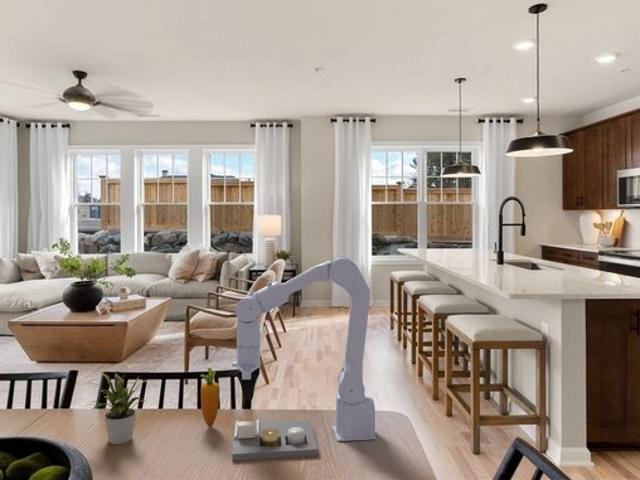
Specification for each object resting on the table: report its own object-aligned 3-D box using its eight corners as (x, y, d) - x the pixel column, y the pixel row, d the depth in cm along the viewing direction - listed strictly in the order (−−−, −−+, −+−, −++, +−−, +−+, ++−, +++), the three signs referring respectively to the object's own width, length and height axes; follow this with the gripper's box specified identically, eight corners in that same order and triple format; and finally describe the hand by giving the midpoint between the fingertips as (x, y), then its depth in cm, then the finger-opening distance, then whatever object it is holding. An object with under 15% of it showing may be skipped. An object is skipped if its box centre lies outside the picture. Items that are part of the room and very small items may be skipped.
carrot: (215, 432, 117) (215, 372, 116) (196, 430, 118) (196, 371, 117) (223, 424, 121) (223, 367, 121) (205, 422, 122) (205, 365, 122)
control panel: (309, 425, 121) (309, 416, 121) (318, 455, 105) (318, 445, 105) (235, 429, 118) (235, 420, 118) (232, 460, 103) (232, 450, 103)
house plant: (69, 444, 110) (68, 375, 109) (119, 422, 122) (118, 360, 122) (110, 458, 103) (109, 385, 103) (158, 434, 115) (158, 368, 115)
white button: (303, 437, 112) (303, 426, 112) (305, 444, 108) (305, 434, 108) (287, 438, 111) (287, 427, 111) (288, 445, 107) (288, 435, 107)
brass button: (278, 438, 111) (278, 428, 111) (279, 446, 107) (279, 435, 107) (261, 439, 110) (261, 428, 110) (261, 447, 106) (262, 436, 106)
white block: (255, 433, 112) (255, 420, 112) (255, 437, 110) (255, 425, 110) (238, 434, 112) (238, 421, 112) (238, 438, 109) (238, 425, 109)
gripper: (234, 338, 123) (234, 389, 124) (229, 353, 109) (229, 410, 109) (261, 337, 124) (261, 388, 124) (259, 352, 109) (259, 409, 110)
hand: (248, 398), depth 117 cm, fingers closed
